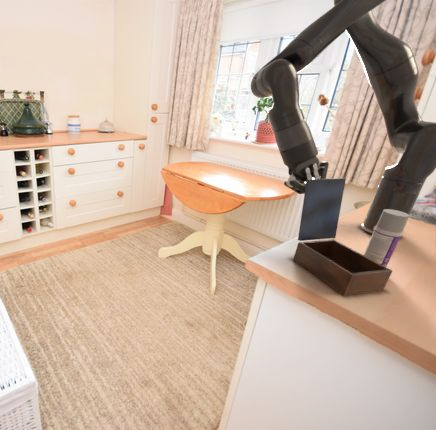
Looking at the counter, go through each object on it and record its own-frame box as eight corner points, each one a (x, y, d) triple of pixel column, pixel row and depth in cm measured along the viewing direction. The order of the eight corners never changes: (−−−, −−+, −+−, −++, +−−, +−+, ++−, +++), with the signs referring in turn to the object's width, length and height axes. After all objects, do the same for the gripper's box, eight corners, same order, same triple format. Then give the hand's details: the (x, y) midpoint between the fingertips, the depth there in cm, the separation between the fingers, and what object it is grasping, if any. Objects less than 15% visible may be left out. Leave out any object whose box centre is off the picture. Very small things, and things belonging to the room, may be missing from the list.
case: (383, 290, 64) (392, 270, 61) (343, 295, 62) (352, 275, 60) (327, 256, 76) (333, 239, 74) (292, 259, 74) (298, 242, 72)
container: (374, 264, 74) (399, 209, 68) (388, 275, 69) (416, 217, 63) (355, 262, 74) (377, 208, 68) (367, 273, 70) (393, 216, 64)
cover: (345, 178, 70) (342, 177, 71) (309, 179, 68) (306, 179, 69) (335, 238, 74) (332, 237, 75) (300, 240, 72) (297, 239, 73)
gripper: (301, 135, 78) (322, 194, 80) (263, 155, 75) (286, 215, 78) (328, 128, 70) (350, 193, 73) (287, 150, 68) (311, 216, 70)
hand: (317, 204), depth 75 cm, fingers closed
